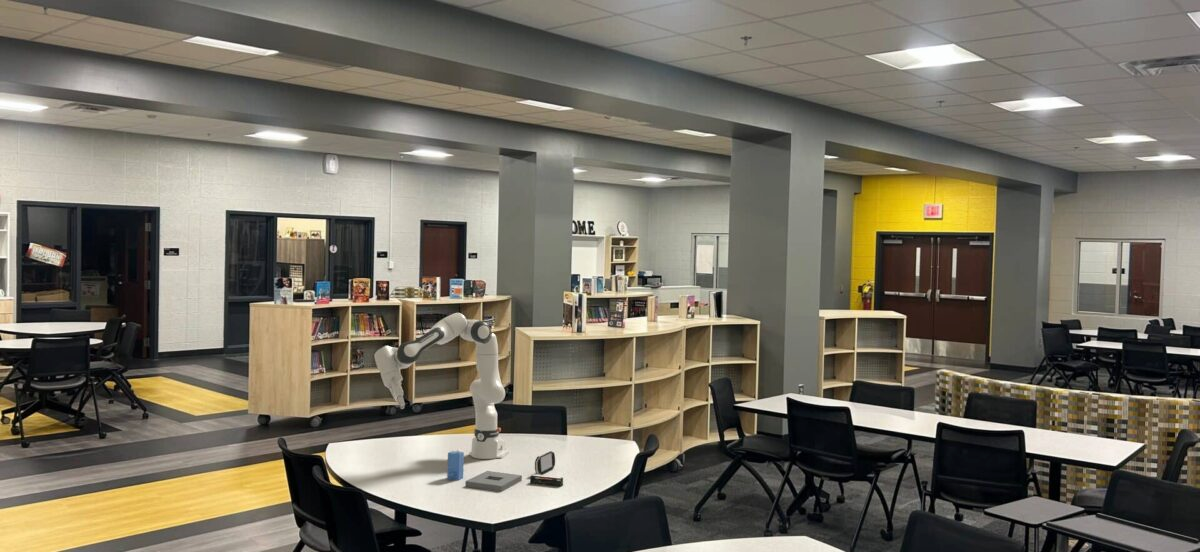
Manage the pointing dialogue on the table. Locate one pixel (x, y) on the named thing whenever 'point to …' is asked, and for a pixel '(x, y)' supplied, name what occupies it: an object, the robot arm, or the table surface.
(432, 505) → the table surface
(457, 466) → the blue rectangular block
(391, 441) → the table surface
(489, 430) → the robot arm
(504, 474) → the plate
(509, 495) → the table surface
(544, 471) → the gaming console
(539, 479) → the black flat block
